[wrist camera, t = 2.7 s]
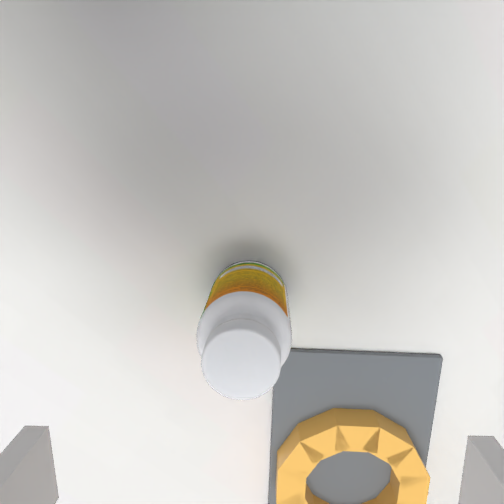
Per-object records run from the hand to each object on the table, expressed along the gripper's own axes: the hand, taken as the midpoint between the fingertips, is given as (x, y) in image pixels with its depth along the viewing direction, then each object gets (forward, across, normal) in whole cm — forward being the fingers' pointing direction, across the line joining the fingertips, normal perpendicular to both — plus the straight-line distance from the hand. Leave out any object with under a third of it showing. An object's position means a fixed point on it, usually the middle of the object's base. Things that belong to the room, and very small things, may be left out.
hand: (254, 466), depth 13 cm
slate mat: (+17, +7, -13) cm, 22 cm away
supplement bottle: (+17, -1, -1) cm, 17 cm away
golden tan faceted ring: (+17, +7, -15) cm, 23 cm away
